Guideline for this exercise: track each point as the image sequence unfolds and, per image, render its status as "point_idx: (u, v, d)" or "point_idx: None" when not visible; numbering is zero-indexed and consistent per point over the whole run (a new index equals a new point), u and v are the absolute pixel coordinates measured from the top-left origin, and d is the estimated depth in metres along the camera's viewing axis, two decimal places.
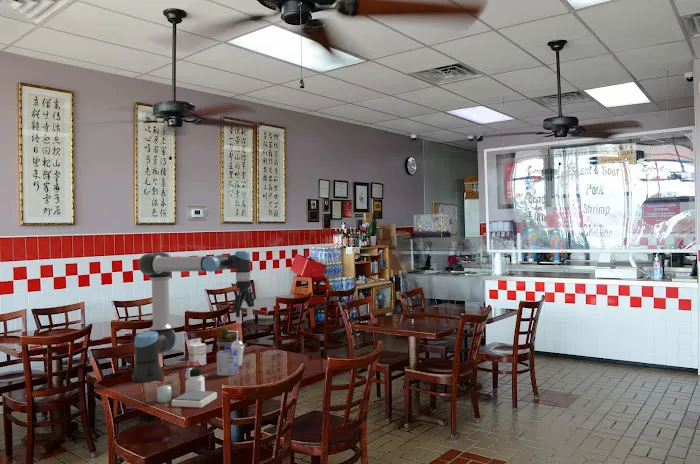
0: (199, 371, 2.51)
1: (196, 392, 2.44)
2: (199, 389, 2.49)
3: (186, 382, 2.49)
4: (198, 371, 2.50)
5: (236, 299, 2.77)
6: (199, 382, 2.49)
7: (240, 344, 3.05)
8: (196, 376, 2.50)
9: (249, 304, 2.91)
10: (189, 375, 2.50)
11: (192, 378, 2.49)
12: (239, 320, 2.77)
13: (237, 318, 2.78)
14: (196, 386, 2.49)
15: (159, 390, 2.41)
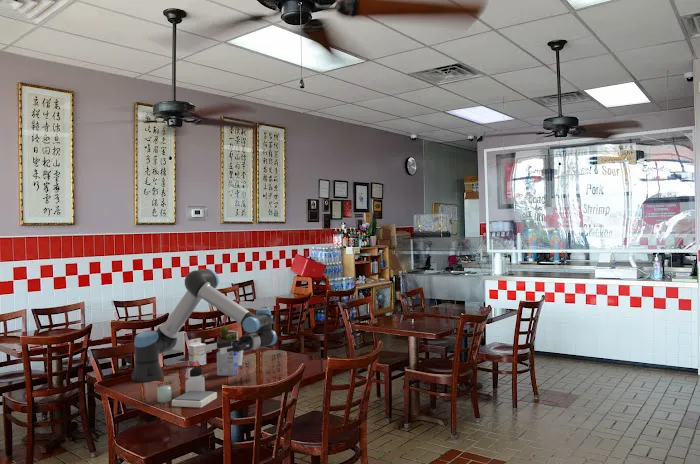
0: (199, 371, 2.51)
1: (196, 392, 2.44)
2: (199, 389, 2.49)
3: (186, 382, 2.49)
4: (198, 371, 2.50)
5: (243, 346, 2.63)
6: (199, 382, 2.49)
7: None
8: (196, 376, 2.50)
9: (219, 345, 2.70)
10: (189, 375, 2.50)
11: (192, 378, 2.49)
12: (223, 352, 2.55)
13: (225, 349, 2.56)
14: (196, 386, 2.49)
15: (159, 390, 2.41)
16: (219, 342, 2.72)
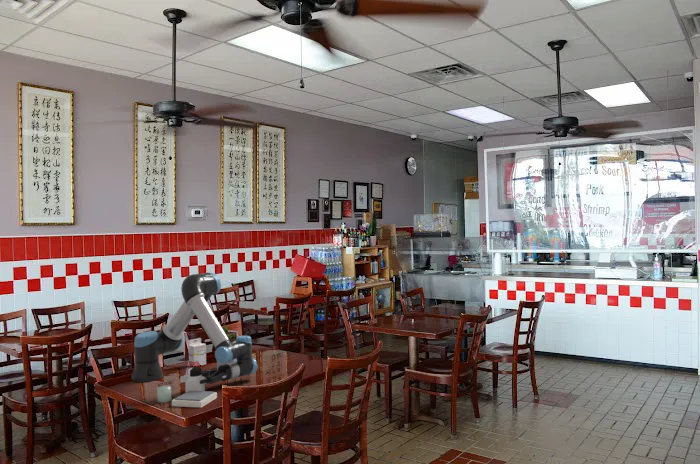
0: (199, 371, 2.51)
1: (196, 392, 2.44)
2: (199, 389, 2.49)
3: (186, 382, 2.49)
4: (198, 371, 2.50)
5: (218, 377, 2.53)
6: None
7: None
8: (196, 376, 2.50)
9: None
10: (189, 375, 2.50)
11: (192, 378, 2.49)
12: (195, 384, 2.46)
13: (197, 381, 2.47)
14: (196, 386, 2.49)
15: (159, 390, 2.41)
16: None
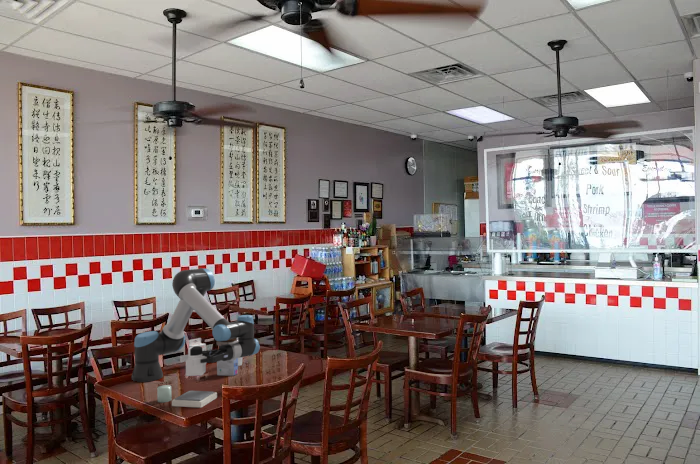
0: (200, 350, 2.41)
1: (196, 392, 2.44)
2: (200, 368, 2.39)
3: (186, 361, 2.38)
4: (199, 350, 2.40)
5: (220, 356, 2.43)
6: None
7: None
8: (197, 355, 2.40)
9: None
10: (189, 354, 2.40)
11: (192, 357, 2.39)
12: (196, 363, 2.36)
13: (198, 360, 2.37)
14: (197, 365, 2.39)
15: (159, 390, 2.41)
16: None
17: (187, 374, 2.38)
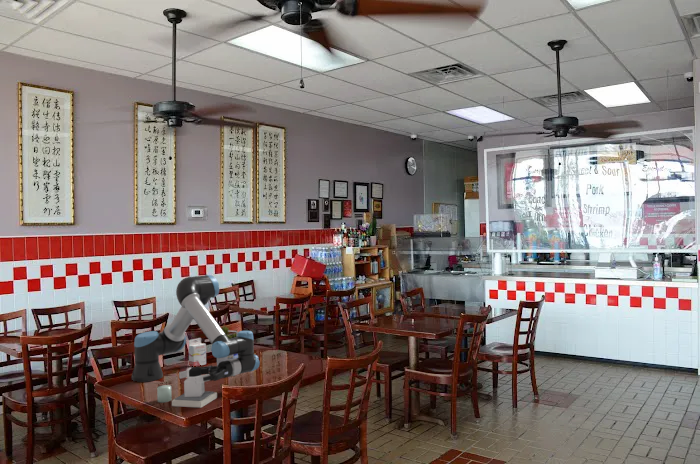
0: (198, 371, 2.39)
1: None
2: (198, 390, 2.37)
3: (185, 382, 2.37)
4: (197, 371, 2.38)
5: (221, 373, 2.41)
6: None
7: None
8: (195, 376, 2.38)
9: None
10: (188, 375, 2.38)
11: (191, 378, 2.38)
12: (199, 381, 2.34)
13: (201, 378, 2.35)
14: (195, 386, 2.37)
15: (159, 390, 2.41)
16: None
17: (186, 395, 2.37)
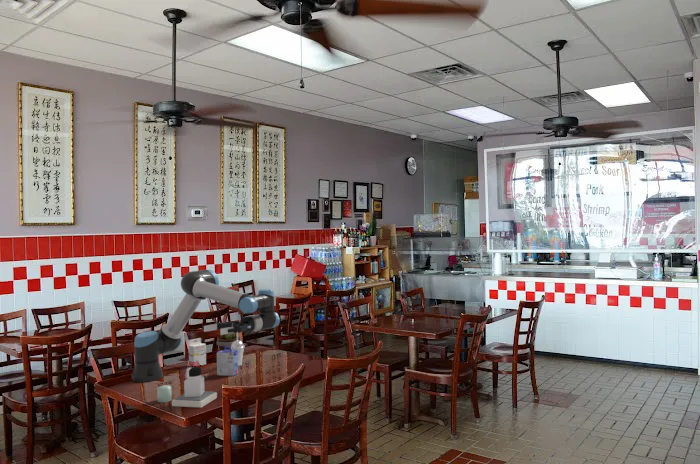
0: (198, 371, 2.39)
1: None
2: (198, 390, 2.37)
3: (185, 382, 2.37)
4: (197, 371, 2.38)
5: (244, 327, 2.50)
6: (198, 382, 2.37)
7: (240, 344, 3.05)
8: (195, 376, 2.38)
9: (219, 326, 2.57)
10: (188, 375, 2.38)
11: (191, 378, 2.38)
12: (224, 332, 2.43)
13: (226, 330, 2.44)
14: (195, 386, 2.37)
15: (159, 390, 2.41)
16: (219, 323, 2.60)
17: (186, 395, 2.37)
